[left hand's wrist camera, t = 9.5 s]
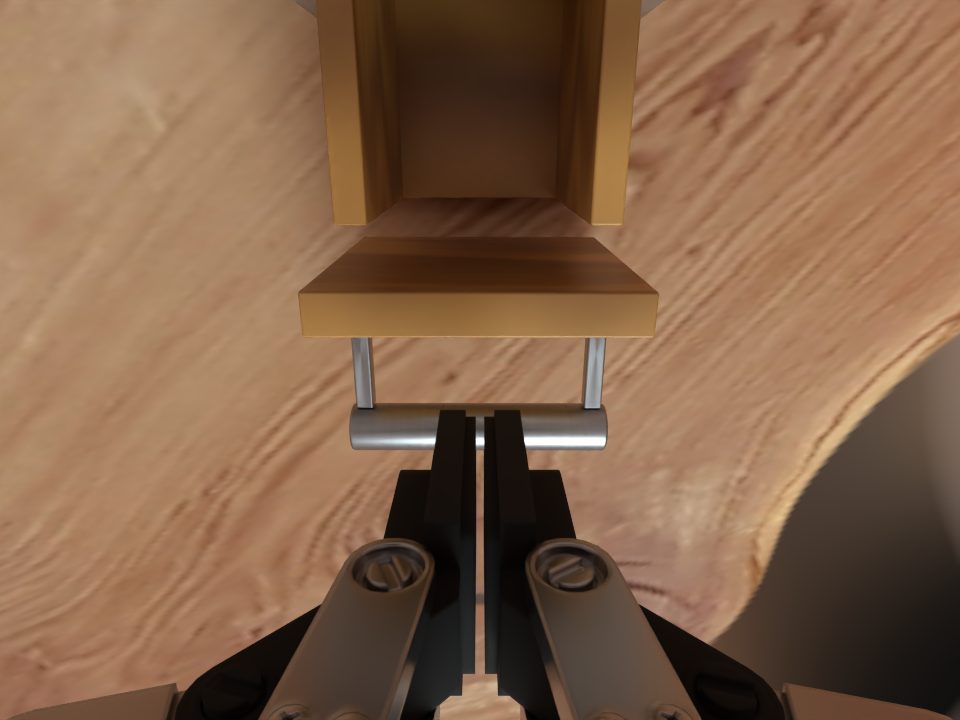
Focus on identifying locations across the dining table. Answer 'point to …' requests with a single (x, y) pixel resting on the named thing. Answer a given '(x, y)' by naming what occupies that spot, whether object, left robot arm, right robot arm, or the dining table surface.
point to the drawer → (478, 192)
